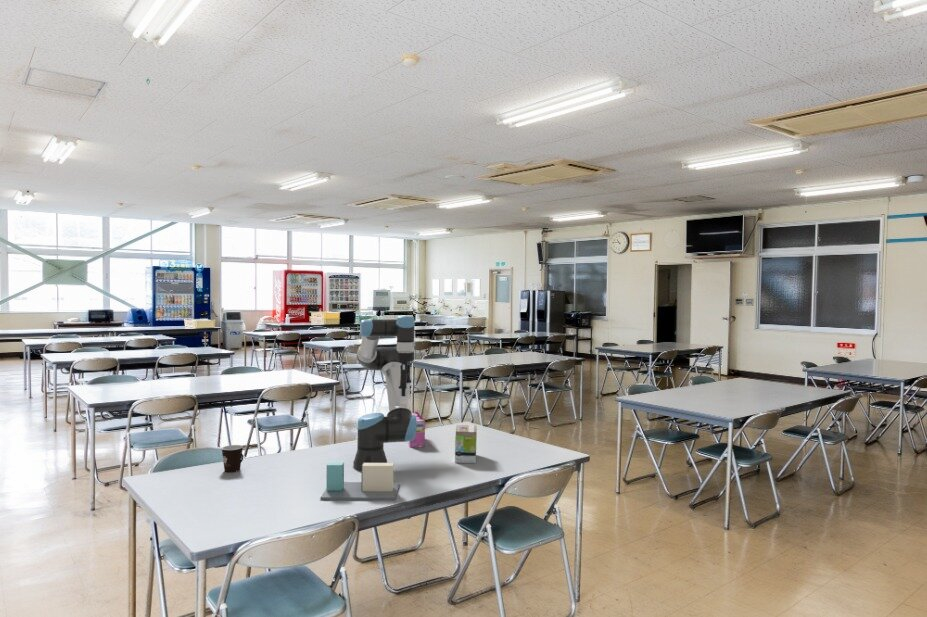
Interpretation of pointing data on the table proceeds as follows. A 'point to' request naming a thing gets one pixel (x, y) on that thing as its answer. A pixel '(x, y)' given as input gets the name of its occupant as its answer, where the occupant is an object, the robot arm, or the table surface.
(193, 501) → the table surface
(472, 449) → the tea box
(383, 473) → the ticket stand
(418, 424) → the pink drink carton pack
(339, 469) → the stub
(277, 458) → the table surface
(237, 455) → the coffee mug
